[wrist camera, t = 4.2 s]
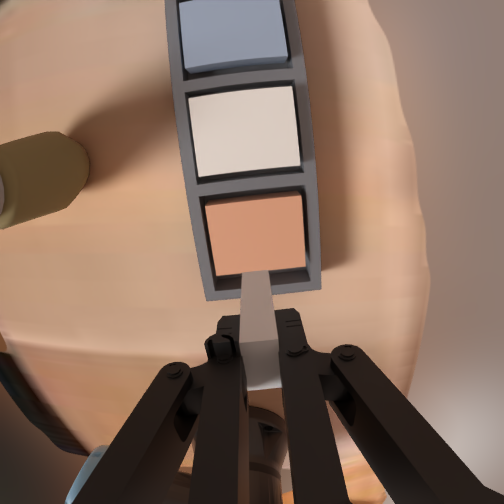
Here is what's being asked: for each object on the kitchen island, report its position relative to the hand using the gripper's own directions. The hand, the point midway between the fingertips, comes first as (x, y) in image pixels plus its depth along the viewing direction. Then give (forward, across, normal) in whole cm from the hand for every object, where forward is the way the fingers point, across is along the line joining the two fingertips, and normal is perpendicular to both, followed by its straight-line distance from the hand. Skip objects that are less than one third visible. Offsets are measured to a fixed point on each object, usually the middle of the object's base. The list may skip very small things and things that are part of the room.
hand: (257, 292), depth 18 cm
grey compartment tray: (+13, 0, -9) cm, 16 cm away
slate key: (+11, 0, -18) cm, 21 cm away
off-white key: (+11, 0, -9) cm, 14 cm away
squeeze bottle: (+13, +19, -9) cm, 25 cm away
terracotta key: (+11, 0, 0) cm, 12 cm away
